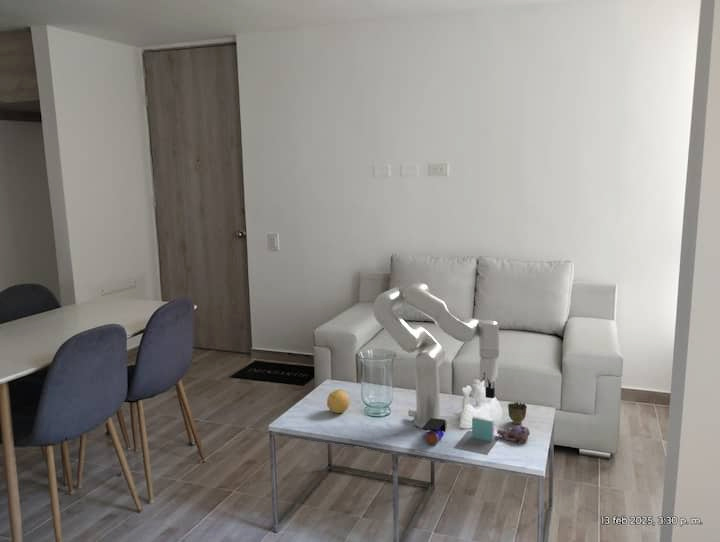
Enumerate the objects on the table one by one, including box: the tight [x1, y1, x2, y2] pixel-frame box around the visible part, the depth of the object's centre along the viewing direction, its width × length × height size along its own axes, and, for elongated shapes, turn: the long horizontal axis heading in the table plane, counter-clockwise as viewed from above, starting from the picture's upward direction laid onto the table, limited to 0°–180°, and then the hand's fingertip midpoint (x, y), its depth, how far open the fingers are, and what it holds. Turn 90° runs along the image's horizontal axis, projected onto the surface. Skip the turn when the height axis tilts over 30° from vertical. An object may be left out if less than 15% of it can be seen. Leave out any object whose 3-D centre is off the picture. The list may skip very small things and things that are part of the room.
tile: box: [471, 416, 495, 441], centre depth 228 cm, size 8×2×8 cm, turn 61°
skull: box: [496, 425, 531, 444], centre depth 227 cm, size 12×8×6 cm, turn 60°
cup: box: [507, 401, 527, 426], centre depth 241 cm, size 8×7×8 cm
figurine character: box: [421, 418, 448, 446], centre depth 230 cm, size 7×8×15 cm
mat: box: [453, 430, 501, 456], centre depth 225 cm, size 13×17×1 cm
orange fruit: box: [326, 389, 351, 414], centre depth 258 cm, size 10×10×10 cm
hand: (490, 397), depth 232 cm, fingers closed
